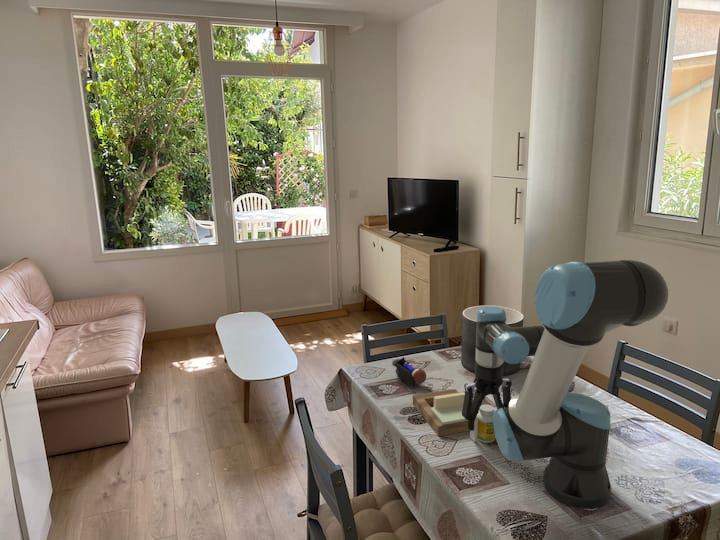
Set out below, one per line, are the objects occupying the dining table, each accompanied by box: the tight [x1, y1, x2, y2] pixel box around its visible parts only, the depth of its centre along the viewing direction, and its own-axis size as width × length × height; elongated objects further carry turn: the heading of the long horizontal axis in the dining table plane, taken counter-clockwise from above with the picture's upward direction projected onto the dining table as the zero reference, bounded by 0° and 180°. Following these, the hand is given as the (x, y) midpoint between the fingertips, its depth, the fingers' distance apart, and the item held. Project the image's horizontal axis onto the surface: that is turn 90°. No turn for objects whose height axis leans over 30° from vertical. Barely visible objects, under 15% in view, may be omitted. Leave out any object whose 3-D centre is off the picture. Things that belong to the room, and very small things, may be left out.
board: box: [412, 388, 480, 437], centre depth 159 cm, size 20×15×3 cm
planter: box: [460, 305, 524, 377], centre depth 193 cm, size 22×22×20 cm
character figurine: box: [391, 356, 427, 389], centre depth 182 cm, size 8×7×15 cm
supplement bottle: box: [477, 404, 496, 444], centre depth 145 cm, size 5×5×10 cm
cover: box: [430, 391, 478, 425], centre depth 153 cm, size 9×12×4 cm
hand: (485, 437), depth 147 cm, fingers open, 7 cm apart
